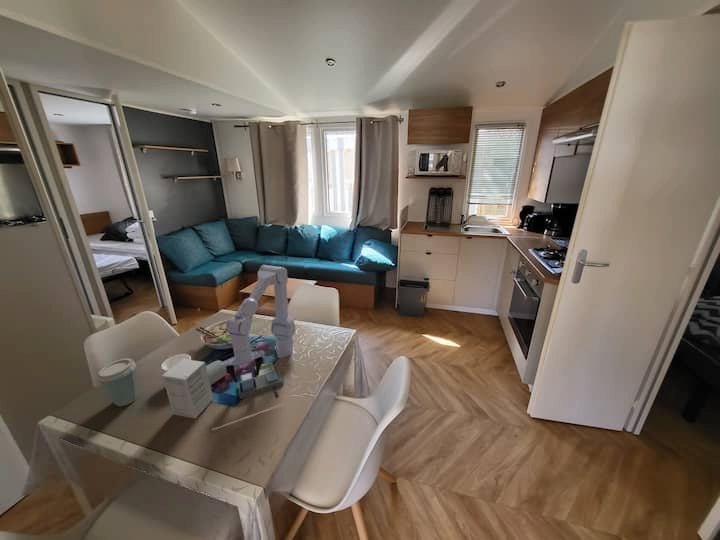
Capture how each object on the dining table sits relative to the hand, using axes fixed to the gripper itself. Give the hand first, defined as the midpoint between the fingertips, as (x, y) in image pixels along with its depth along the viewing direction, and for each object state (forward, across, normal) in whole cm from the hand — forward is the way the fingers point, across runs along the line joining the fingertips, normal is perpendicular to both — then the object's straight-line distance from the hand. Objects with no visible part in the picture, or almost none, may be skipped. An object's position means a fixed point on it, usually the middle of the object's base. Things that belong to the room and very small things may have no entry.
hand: (246, 377), depth 104 cm
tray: (+6, +7, +7) cm, 12 cm away
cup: (+6, -24, +18) cm, 30 cm away
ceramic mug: (+7, -13, +13) cm, 20 cm away
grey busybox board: (+6, +4, -3) cm, 8 cm away
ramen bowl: (+7, -5, +37) cm, 38 cm away
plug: (+6, 0, 0) cm, 6 cm away
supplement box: (+6, -19, +1) cm, 20 cm away
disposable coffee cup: (+6, -41, +16) cm, 44 cm away
